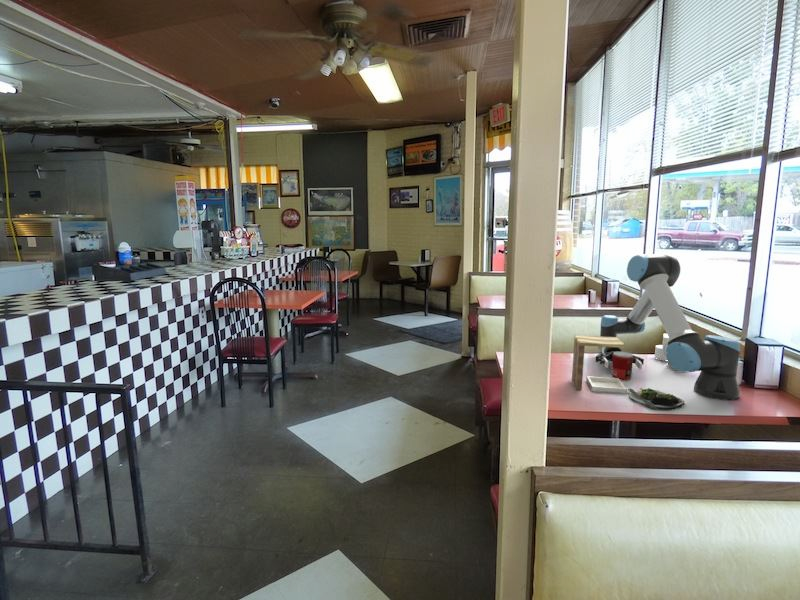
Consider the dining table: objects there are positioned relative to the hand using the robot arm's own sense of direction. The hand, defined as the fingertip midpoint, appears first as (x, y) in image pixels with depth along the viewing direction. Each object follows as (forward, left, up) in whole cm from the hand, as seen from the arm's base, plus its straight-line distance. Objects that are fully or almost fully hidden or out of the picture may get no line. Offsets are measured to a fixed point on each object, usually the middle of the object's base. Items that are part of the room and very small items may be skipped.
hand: (624, 365), depth 197 cm
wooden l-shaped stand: (-2, +17, -6) cm, 18 cm away
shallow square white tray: (-4, +14, -6) cm, 16 cm away
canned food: (+3, -1, -7) cm, 7 cm away
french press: (+5, -35, -7) cm, 36 cm away
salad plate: (-23, +7, -7) cm, 25 cm away
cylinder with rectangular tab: (+18, -43, -7) cm, 47 cm away
